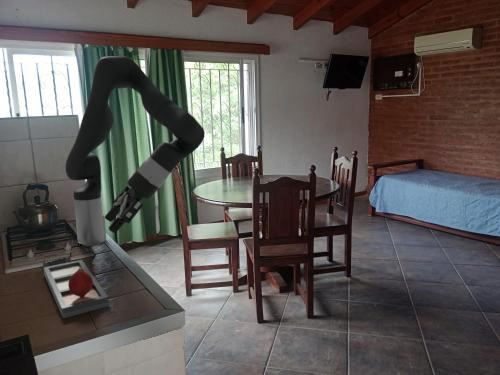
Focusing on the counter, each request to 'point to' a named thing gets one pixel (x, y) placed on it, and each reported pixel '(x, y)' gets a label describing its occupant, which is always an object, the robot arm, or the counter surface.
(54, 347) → the counter surface
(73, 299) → the terracotta key
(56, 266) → the keypad
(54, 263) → the phone
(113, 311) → the counter surface
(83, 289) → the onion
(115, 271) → the counter surface
